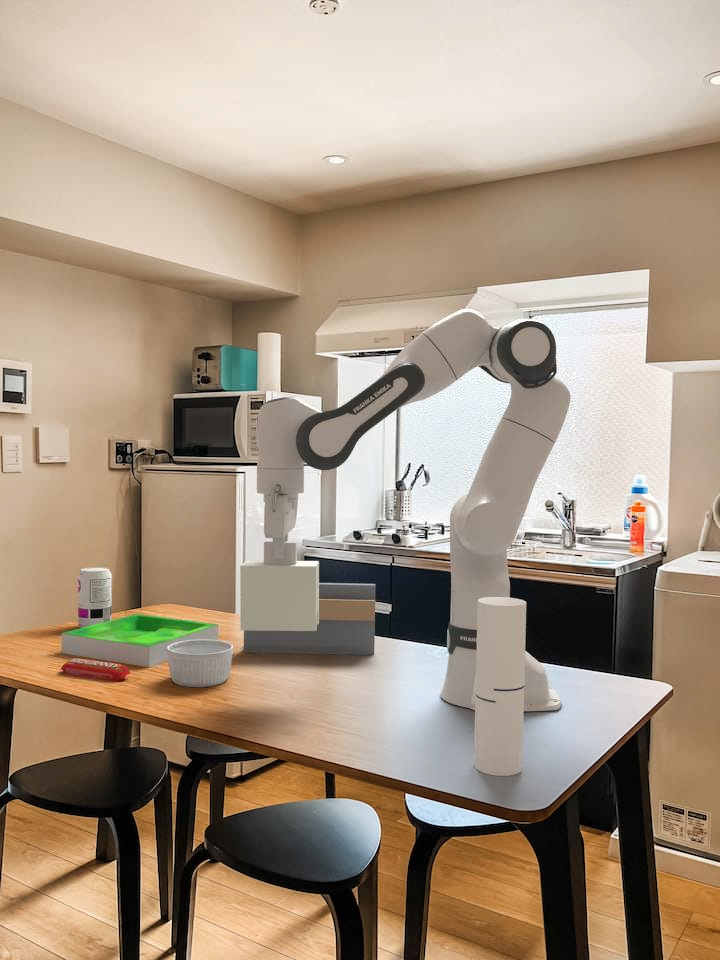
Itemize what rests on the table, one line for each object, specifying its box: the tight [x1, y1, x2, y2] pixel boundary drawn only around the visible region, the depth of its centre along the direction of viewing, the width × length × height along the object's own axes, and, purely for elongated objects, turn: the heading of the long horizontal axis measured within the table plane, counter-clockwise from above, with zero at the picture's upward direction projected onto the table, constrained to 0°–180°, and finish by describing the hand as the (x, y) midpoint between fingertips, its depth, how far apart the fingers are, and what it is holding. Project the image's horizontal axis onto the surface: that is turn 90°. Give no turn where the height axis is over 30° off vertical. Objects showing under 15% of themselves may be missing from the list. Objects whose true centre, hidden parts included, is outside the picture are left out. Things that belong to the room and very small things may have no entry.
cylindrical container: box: [473, 597, 527, 777], centre depth 124 cm, size 7×7×25 cm
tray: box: [60, 613, 219, 668], centre depth 193 cm, size 25×25×5 cm
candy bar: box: [59, 658, 131, 682], centre depth 170 cm, size 16×4×3 cm, turn 68°
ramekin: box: [167, 639, 234, 688], centre depth 168 cm, size 13×13×7 cm
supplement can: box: [77, 566, 113, 629], centre depth 214 cm, size 8×8×15 cm
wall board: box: [243, 582, 376, 656], centre depth 192 cm, size 30×9×16 cm, turn 89°
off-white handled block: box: [239, 541, 320, 631], centre depth 157 cm, size 14×7×16 cm, turn 89°
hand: (280, 557), depth 157 cm, fingers closed on off-white handled block
